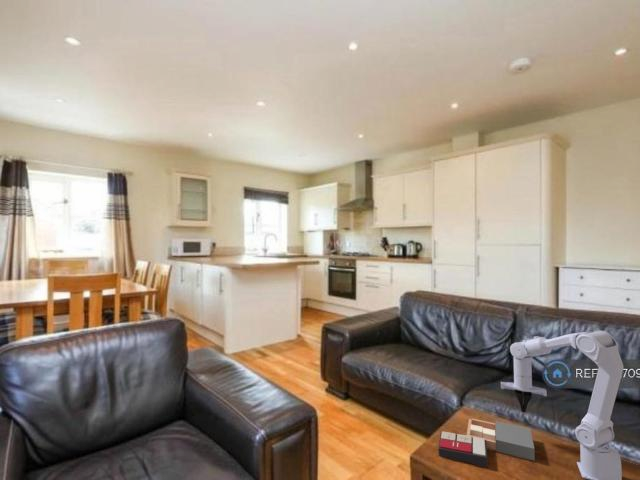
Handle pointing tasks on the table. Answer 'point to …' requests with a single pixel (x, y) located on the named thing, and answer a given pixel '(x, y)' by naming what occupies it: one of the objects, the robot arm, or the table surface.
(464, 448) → the calculator
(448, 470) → the table surface
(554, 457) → the table surface
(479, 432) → the tile
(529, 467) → the table surface
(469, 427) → the box
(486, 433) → the tile
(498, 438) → the grey rectangular block
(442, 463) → the table surface
